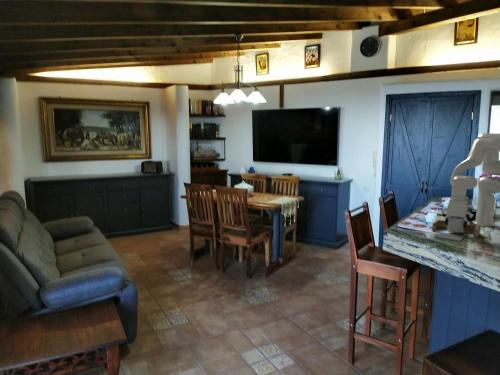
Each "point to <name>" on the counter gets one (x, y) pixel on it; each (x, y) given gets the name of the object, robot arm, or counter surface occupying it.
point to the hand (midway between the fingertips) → (455, 226)
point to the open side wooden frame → (468, 229)
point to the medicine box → (455, 224)
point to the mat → (450, 236)
